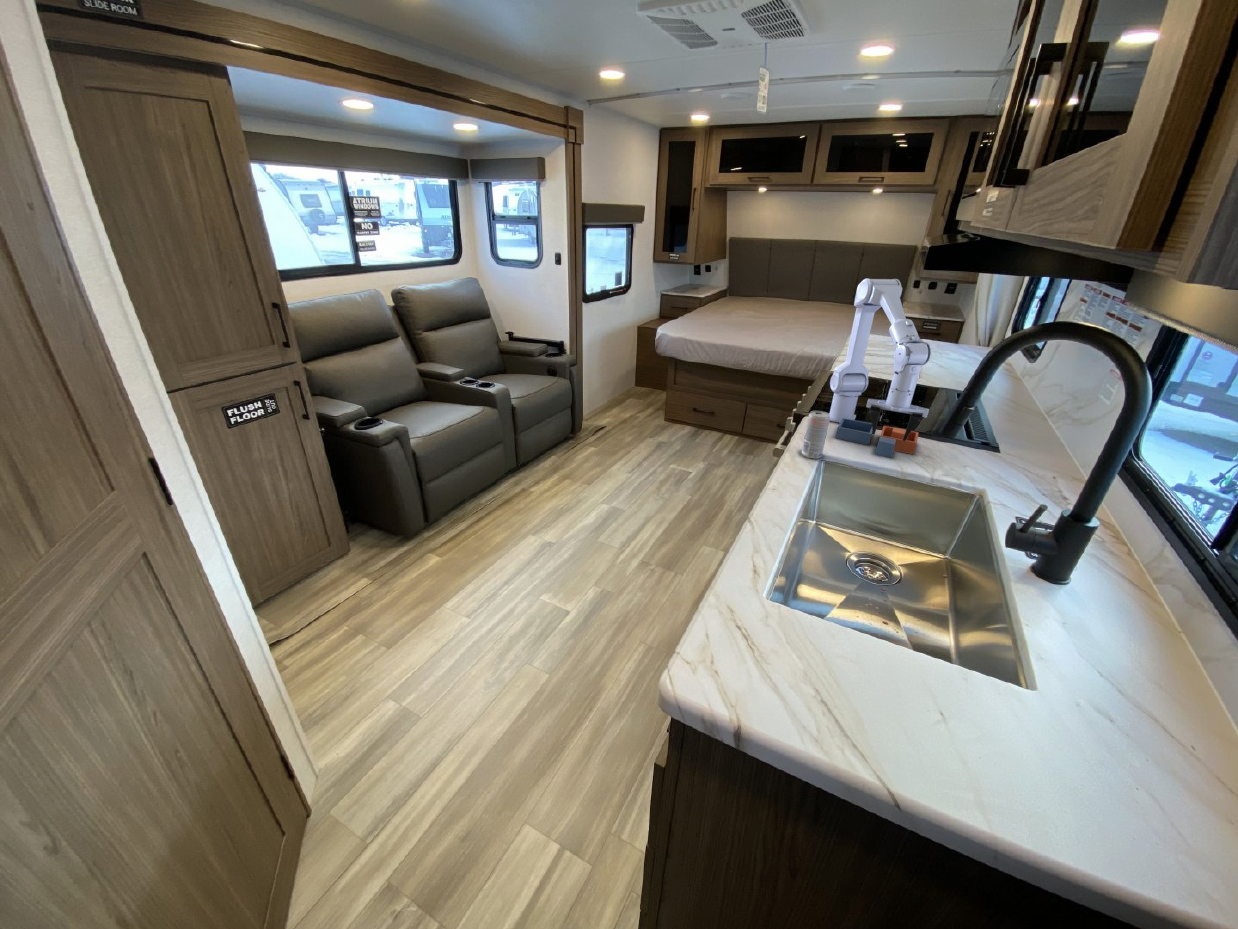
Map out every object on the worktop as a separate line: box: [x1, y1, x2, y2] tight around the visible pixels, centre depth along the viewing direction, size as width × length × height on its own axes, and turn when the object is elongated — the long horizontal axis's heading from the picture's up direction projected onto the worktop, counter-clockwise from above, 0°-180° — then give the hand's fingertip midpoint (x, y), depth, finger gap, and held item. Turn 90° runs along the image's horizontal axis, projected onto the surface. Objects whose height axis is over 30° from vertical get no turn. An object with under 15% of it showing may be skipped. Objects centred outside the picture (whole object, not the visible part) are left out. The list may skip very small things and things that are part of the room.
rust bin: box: [879, 425, 919, 455], centre depth 142 cm, size 9×9×4 cm
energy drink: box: [800, 410, 831, 460], centre depth 133 cm, size 5×5×12 cm
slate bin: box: [834, 418, 873, 446], centre depth 147 cm, size 9×9×4 cm
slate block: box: [874, 436, 896, 458], centre depth 137 cm, size 4×4×4 cm
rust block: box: [891, 427, 907, 440], centre depth 142 cm, size 4×4×4 cm
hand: (888, 436), depth 135 cm, fingers open, 7 cm apart
